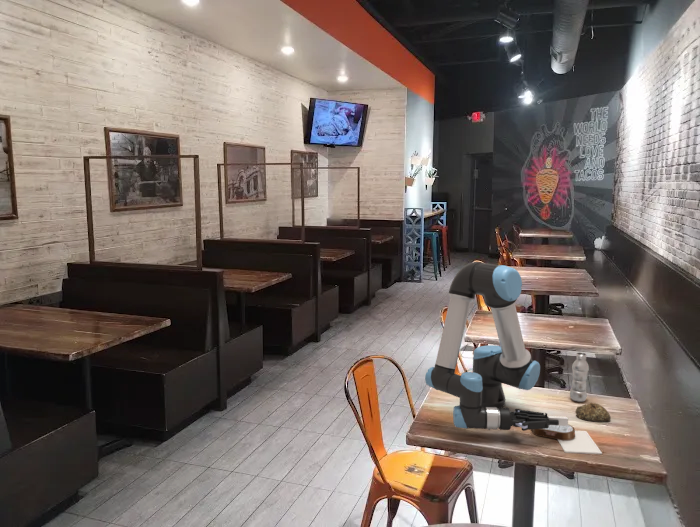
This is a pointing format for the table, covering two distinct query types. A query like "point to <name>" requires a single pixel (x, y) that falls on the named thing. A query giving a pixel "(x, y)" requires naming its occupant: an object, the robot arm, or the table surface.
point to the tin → (556, 432)
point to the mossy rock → (592, 413)
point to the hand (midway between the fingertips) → (567, 421)
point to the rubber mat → (580, 444)
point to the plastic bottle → (579, 378)
